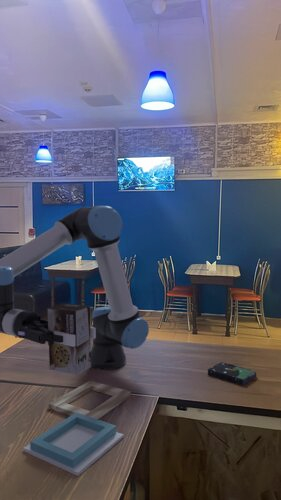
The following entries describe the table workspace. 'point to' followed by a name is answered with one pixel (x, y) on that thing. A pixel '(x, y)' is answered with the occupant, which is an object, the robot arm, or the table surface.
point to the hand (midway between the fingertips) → (84, 336)
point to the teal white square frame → (74, 443)
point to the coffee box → (75, 323)
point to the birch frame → (63, 402)
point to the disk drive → (232, 373)
